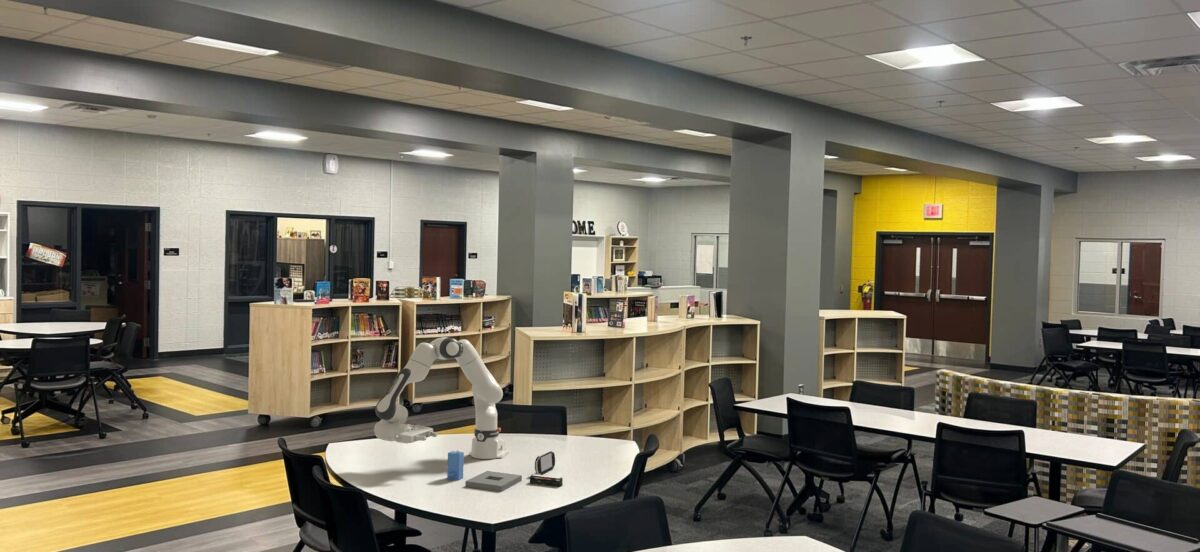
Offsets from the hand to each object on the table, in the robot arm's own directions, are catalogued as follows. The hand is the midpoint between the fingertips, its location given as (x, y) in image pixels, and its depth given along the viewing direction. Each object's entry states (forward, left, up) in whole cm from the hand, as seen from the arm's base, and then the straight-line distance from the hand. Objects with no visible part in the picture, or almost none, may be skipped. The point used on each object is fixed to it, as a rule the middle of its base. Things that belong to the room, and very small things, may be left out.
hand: (431, 436), depth 385 cm
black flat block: (-9, +57, -19) cm, 60 cm away
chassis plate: (0, +33, -18) cm, 38 cm away
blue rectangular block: (0, +13, -18) cm, 22 cm away
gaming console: (-29, +45, -18) cm, 57 cm away
